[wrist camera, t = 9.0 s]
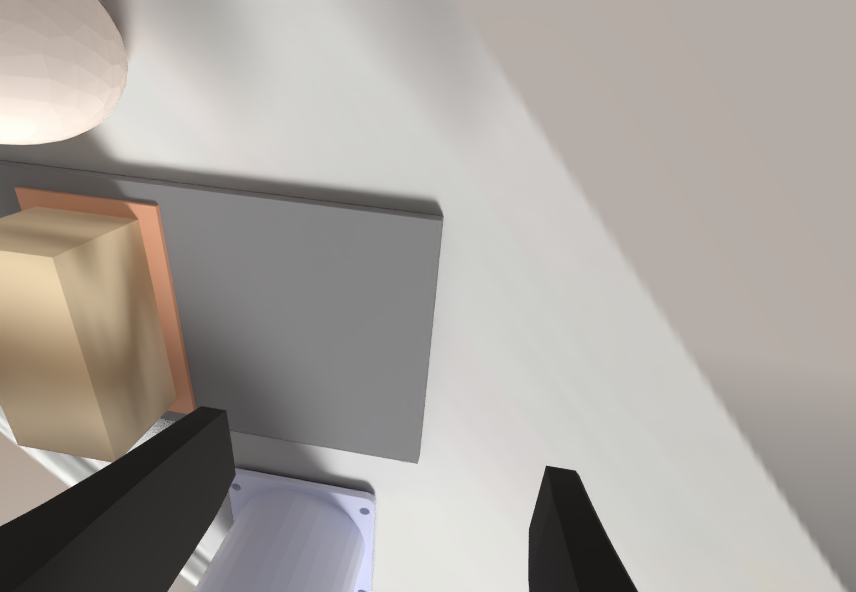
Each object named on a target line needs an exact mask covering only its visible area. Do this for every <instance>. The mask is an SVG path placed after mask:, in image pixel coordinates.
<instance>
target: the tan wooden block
mask: <svg viewBox="0 0 856 592" xmlns="http://www.w3.org/2000/svg"><path fill="white" fill-rule="evenodd" d="M176 401H177V397H176V393H175V388H174V383H173V378H172V374H171V369H170V364H169V360H168V355H167V350H166V346H165V341H164V336H163V332H162V327H161V322H160V318H159V313H158V308H157V304H156V299H155V294H154V290H153V285H152V280H151V275H150V271H149V266H148V261H147V257H146V252H145V247H144V243H143V238H142V233H141V229H140V224H139V219H132V218H124V217H116V216H108V215H100V214H93V213H85V212H77V211H69V210H61V209H53V208H45V207H33V208H30V209H27V210H24V211H21V212H18V213H15V214H12V215H9V216H5V217H2V218H0V404H1V406H2V409H3V411H4V413H5V416H6V418H7V420H8V423H9V425H10V427H11V429H12V432H13V434H14V436H15V439H16V441H17V443H18V445H20V446H25V447H31V448H36V449H42V450H47V451H53V452H58V453H63V454H69V455H74V456H80V457H85V458H91V459H96V460H102V461H107V462H114V461H116V460H117V459H119V458H121V457H122V456H124V455H125V454H126V453H127V452H128V451H129V450H130V449H131V447H132V446H133V445H134V444H135V443H136V442H137V441H138V440H139V439H140V438H141V437H142V436H143V435H144V434H145V433H146V432H147V431H148V430H149V429H150V428H151V427H152V426H153V425H154V424H155V423H156V421H157V420H158V419H159V418H160V417H161V416H162V415H163V414H164V413H165V412H166V411H167V410H168V409H169V408H170V407H171V406H172V405H173V404H174V403H175V402H176Z"/></svg>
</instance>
